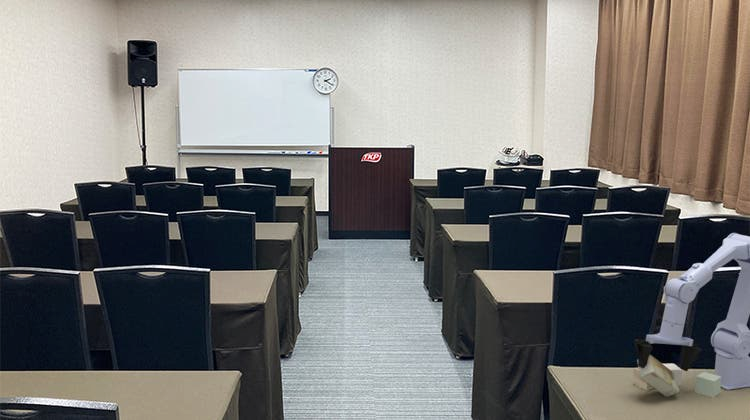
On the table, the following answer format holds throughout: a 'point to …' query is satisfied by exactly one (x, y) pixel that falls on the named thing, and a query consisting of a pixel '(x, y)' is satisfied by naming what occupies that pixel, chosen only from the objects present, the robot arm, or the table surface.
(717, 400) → the table surface
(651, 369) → the skincare box
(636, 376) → the cube beech
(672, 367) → the cube cream
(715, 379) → the cube sage
